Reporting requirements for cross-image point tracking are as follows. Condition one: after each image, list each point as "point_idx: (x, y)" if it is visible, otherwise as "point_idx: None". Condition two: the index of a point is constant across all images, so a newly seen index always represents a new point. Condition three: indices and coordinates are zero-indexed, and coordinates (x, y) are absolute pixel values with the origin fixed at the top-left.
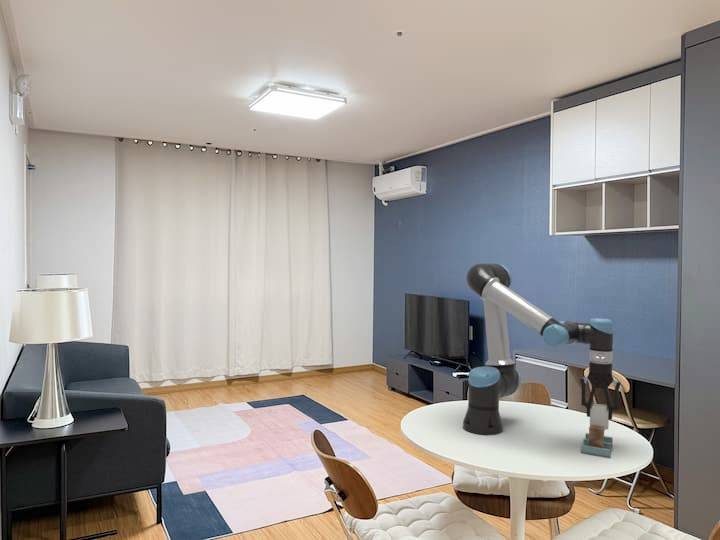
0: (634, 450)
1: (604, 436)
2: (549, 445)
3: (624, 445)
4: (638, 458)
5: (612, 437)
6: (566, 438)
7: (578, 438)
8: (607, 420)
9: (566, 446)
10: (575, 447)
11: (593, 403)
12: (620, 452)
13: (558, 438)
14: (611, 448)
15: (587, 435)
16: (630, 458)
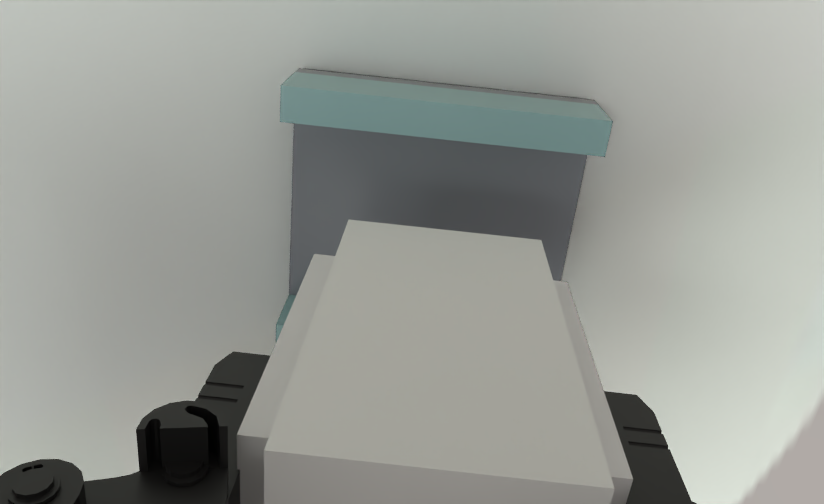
0: (803, 184)
1: (511, 131)
2: (11, 377)
3: (737, 42)
4: (765, 400)
5: (609, 128)
6: (92, 79)
7: (215, 9)
8: None
9: (149, 343)
10: (228, 337)
11: (268, 452)
12: (634, 307)
13: (17, 122)
14: (560, 266)
15: (307, 119)
16: (690, 425)
